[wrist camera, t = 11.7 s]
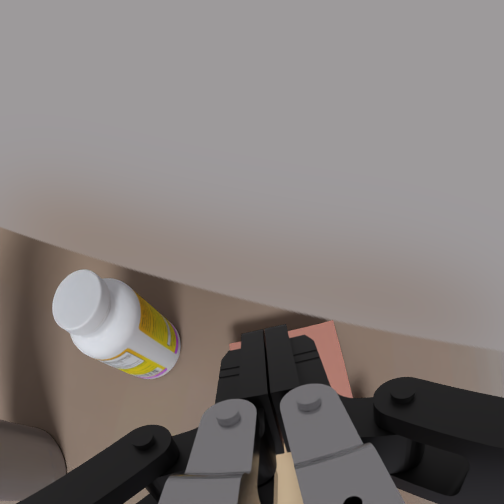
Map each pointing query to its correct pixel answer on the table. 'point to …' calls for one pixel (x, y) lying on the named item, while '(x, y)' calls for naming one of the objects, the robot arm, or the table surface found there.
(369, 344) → the table surface
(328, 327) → the panel
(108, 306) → the supplement bottle
